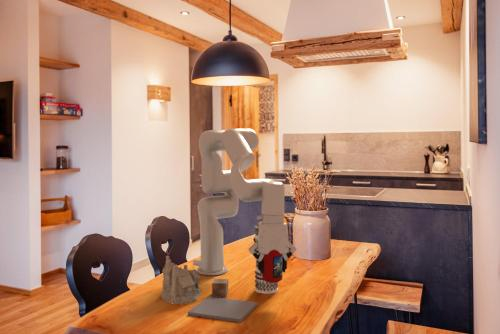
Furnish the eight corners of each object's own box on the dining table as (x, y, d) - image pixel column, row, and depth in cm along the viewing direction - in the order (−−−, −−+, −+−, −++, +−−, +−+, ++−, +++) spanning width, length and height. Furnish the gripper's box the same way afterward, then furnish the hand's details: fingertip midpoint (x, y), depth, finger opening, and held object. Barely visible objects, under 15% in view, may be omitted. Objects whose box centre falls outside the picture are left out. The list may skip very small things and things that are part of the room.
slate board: (187, 315, 140) (187, 311, 140) (208, 299, 154) (208, 296, 154) (240, 322, 134) (240, 319, 134) (257, 305, 148) (257, 302, 148)
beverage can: (280, 284, 145) (281, 248, 144) (260, 283, 146) (260, 247, 145) (283, 278, 152) (284, 243, 151) (264, 276, 153) (264, 242, 152)
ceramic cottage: (172, 307, 147) (173, 261, 147) (154, 295, 161) (155, 253, 161) (214, 300, 156) (215, 257, 156) (193, 289, 169) (194, 250, 170)
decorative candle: (261, 295, 157) (260, 225, 156) (249, 288, 165) (248, 221, 164) (283, 291, 161) (283, 222, 160) (271, 284, 169) (270, 219, 168)
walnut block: (212, 297, 157) (211, 283, 156) (214, 292, 162) (214, 278, 161) (226, 297, 156) (226, 283, 156) (228, 292, 161) (228, 279, 161)
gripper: (248, 221, 142) (247, 276, 144) (301, 220, 145) (300, 274, 146) (245, 217, 150) (245, 269, 151) (295, 216, 152) (295, 267, 154)
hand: (272, 271), depth 149 cm, fingers closed on beverage can, 6 cm apart
